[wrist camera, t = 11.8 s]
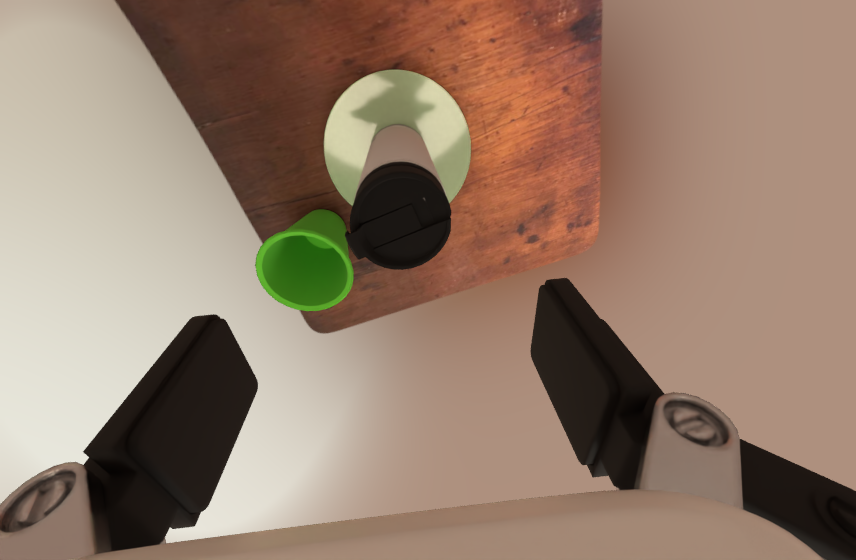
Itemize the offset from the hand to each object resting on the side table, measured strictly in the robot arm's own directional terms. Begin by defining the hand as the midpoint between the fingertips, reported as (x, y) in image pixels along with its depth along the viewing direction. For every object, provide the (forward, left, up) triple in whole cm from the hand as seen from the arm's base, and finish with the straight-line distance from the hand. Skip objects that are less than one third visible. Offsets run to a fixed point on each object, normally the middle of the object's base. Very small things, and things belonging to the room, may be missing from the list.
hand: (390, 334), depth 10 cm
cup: (+9, -10, -32) cm, 34 cm away
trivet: (+1, 0, -31) cm, 31 cm away
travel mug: (+1, 0, -31) cm, 31 cm away
